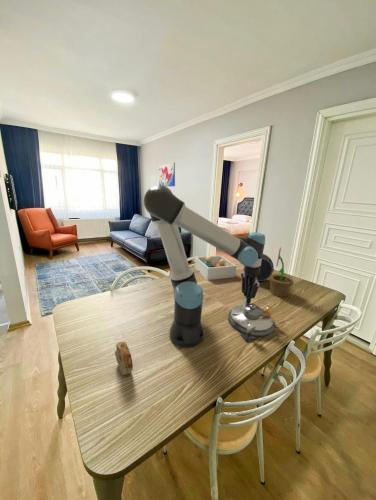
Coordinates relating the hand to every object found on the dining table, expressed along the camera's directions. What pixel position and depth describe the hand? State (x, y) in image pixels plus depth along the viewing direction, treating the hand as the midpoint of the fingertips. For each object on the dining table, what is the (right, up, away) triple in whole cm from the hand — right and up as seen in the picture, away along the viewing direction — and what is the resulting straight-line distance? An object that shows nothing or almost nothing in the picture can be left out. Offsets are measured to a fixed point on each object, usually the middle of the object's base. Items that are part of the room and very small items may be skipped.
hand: (245, 307), depth 107 cm
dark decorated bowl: (+21, +8, +47) cm, 52 cm away
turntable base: (+2, -6, -3) cm, 7 cm away
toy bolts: (-9, +12, +57) cm, 59 cm away
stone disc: (-52, -13, -33) cm, 63 cm away
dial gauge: (-3, -9, -14) cm, 17 cm away
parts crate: (-9, +12, +56) cm, 58 cm away
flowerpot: (+29, +1, +28) cm, 41 cm away
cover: (+2, -3, -4) cm, 5 cm away
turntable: (+2, -4, -4) cm, 6 cm away
